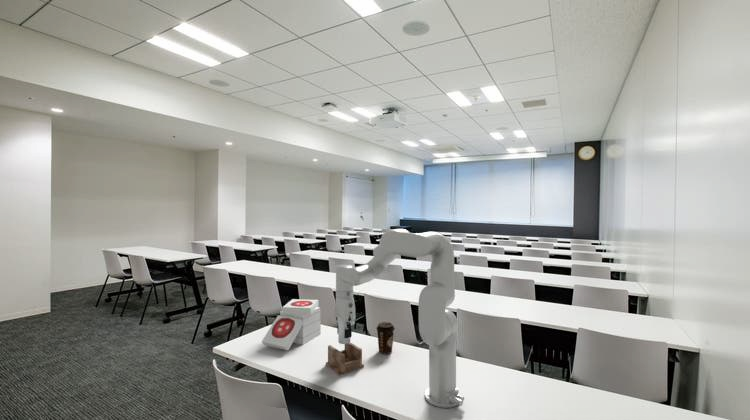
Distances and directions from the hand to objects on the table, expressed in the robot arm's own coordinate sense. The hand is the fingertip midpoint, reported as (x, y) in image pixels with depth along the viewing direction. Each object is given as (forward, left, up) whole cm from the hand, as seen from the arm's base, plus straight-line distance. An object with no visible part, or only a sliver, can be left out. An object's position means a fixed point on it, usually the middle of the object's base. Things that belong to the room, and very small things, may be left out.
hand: (344, 334), depth 142 cm
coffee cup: (0, -23, -14) cm, 27 cm away
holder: (0, 0, -13) cm, 13 cm away
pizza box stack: (+39, +6, -14) cm, 42 cm away
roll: (0, 0, -3) cm, 3 cm away
